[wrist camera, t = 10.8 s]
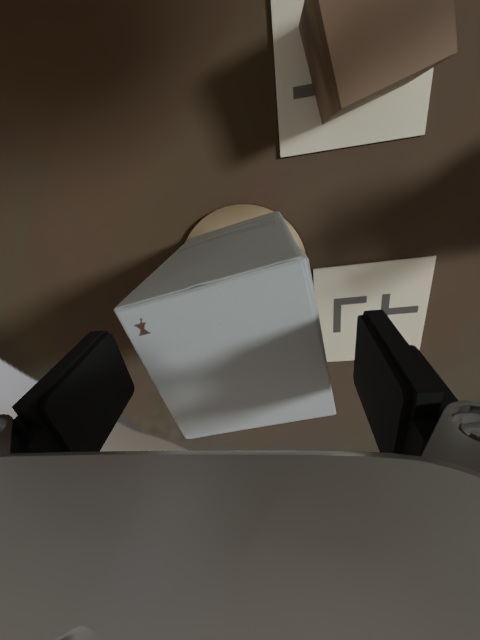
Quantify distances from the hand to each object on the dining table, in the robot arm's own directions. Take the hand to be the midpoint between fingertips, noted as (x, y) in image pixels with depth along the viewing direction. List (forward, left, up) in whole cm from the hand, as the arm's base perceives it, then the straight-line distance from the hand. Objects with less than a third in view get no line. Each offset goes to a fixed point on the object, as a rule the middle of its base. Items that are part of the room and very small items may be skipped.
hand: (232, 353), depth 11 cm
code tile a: (+6, +9, -13) cm, 17 cm away
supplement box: (+1, 0, -13) cm, 13 cm away
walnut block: (-11, +7, -13) cm, 19 cm away
